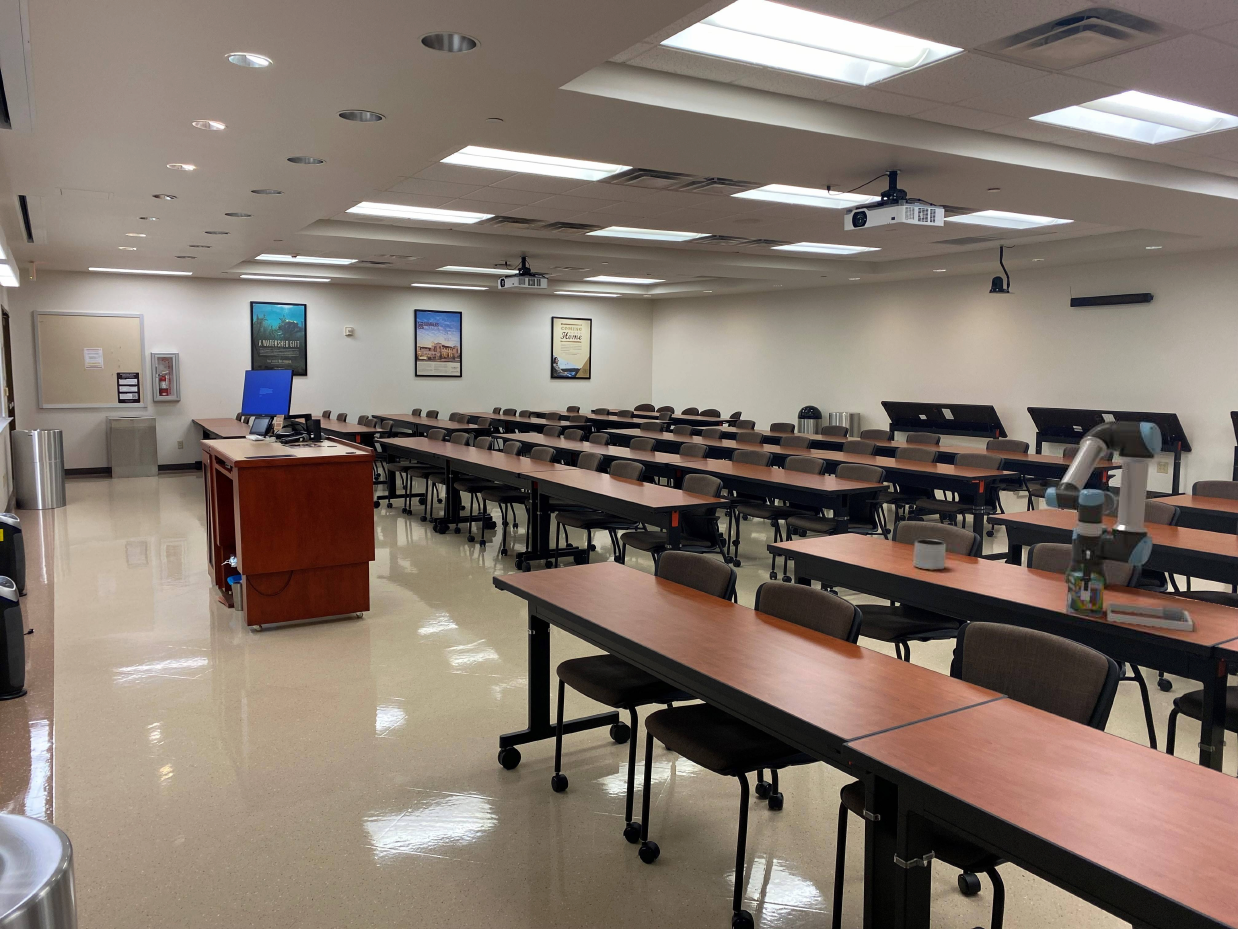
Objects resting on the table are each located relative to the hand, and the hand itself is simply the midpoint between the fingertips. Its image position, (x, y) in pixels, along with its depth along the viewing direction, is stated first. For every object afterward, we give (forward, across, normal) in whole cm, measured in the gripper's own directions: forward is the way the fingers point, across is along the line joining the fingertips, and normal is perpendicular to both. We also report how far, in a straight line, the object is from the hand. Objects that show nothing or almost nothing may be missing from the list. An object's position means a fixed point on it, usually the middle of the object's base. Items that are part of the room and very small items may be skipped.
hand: (1084, 595), depth 297 cm
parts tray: (+6, +1, +19) cm, 20 cm away
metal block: (+6, +1, +26) cm, 27 cm away
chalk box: (+4, 0, 0) cm, 4 cm away
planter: (+6, -41, -58) cm, 71 cm away
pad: (+5, 0, 0) cm, 5 cm away
